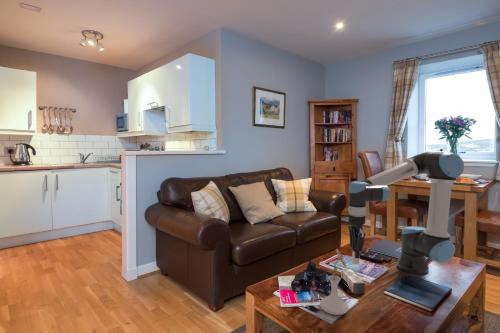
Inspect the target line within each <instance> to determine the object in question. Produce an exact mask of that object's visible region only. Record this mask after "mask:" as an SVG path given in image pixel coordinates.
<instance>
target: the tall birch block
mask: <svg viewBox="0 0 500 333" xmlns="http://www.w3.org/2000/svg"><path fill="white" fill-rule="evenodd" d="M340 278H343V279H344V280H345V281H346V282H347V284H348V286H349V288H348V289H349V290H350V291H351V293H353V295H363V294H364V295H365V287H366V284H365V282H364V281H363V279H361V278H360V277H359V276H358V275H357V274H356V273H355V271H353V270H352V269H351V268H349V269H348V268H345V269H344V268H343V269H341V270H340ZM348 286H347V287H348Z"/></svg>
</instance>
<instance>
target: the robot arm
mask: <svg viewBox="0 0 500 333" xmlns="http://www.w3.org/2000/svg"><path fill="white" fill-rule="evenodd" d="M464 170H465V164H464V161H463V159H462V157H461V156H460V155H458V154H457V153H454V152H448V151H447V152H446V151H445V152H443V151H441V152H440V151H426V152H422V153H419V154H416V155H414V156H411V157H409V158H406V159H404V161H403V162H402V163H399V164H397V165H395V166H392V167H391V168H388V169H386V170H383V171H381V172H379V173H376V174H375V175H371V176H370V177H368V178H365V179H363V180H360V181H358V180H354V181H350V183H349V185H348V208H347V211H348V215H347V216H348V219H347V221H348V223H349V224H350V225H348V226H347V227H348V233H349V235H348V236H349V246H350V248H351V250H352V254H351V255H352V260H351V264H352V265H353V266H354V265H357V266H358V265H360V253H361V252H363V248H364V243H365V237H366V235H367V234H366V232H363V230H364V228H363V225H366V220H367V219H366V213H367V203H370V202H371V203H372V202H381V203H382V202H386V201H389V199H390V198H391V193H392V192H391V189H390V188H389V186H391V185H392V184H394V183H396V182H399V181H401V180H403V179H405V178H408V177H410V176H411V177H414V176H415V177H416V176H418V175H424V174H425V175H428V177H427V178H428V180H429V181H430V182H431V184H430V192H429V193H430V194H429V201H428V202H429V203H428V213H427V221H426V223H427V224H426V228H425V227H423V226H422V227H421V226H405V227H403V228H402V231H401V245H400V246H401V248H400V249H401V250H400V255H399V257H398V259H397V262H396V264H397V265H396V266H397V268H398V269H400V270H402V271H404V272H406V273H410V274H415V275H424V274H428V272H429V271H430V269H429V264H428V261H427V260H428V259H429V260H431V261H433V262H437V263H442V264H444V263H447V262H448V261H450V260H451V259H452V258H453V257H454V255H455V252H456V246H455V245H454V244H455V243H454V242H452V241H451V235H450V233H449V232H448V228H449V227H448V226H449V218H450V217H449V216H450V205H451V195H452V186H453V184H454V183H455V182H457V178H458V177H460V176H461V175H462V174H463V173H464ZM427 258H428V259H427Z"/></svg>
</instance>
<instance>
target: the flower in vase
mask: <svg viewBox="0 0 500 333" xmlns="http://www.w3.org/2000/svg"><path fill="white" fill-rule="evenodd" d="M335 252H336V253H337V260H336V261H335V263H334V264H333V273H332V274H331V275H328V277H327V278H328V280H329V281H330V285H331V290H330V291H331V292H330V294H329V295H327V296H325V297H323V298H322V299H321V300H320V302H319V306H320V308H321V310H322V311H324V312H326V313H327V314H330V315H333V316H334V315H335V316H341V315H345V314H346V313H348V311H349V306H348V304H347V303H346V301H345V300H343V298H341V296H339V295H338V285H339V283H340V281H342V280H341V276H339V275H335V274H338V272H337V271H338V269H337V266H336V265H337V262H338V261H340V262H341V264H342V265H343V267H345V268H346V267H347V264H346V262H345V260H343V256H341V252H340V251H339V249H338V248H336V249H335Z"/></svg>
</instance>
